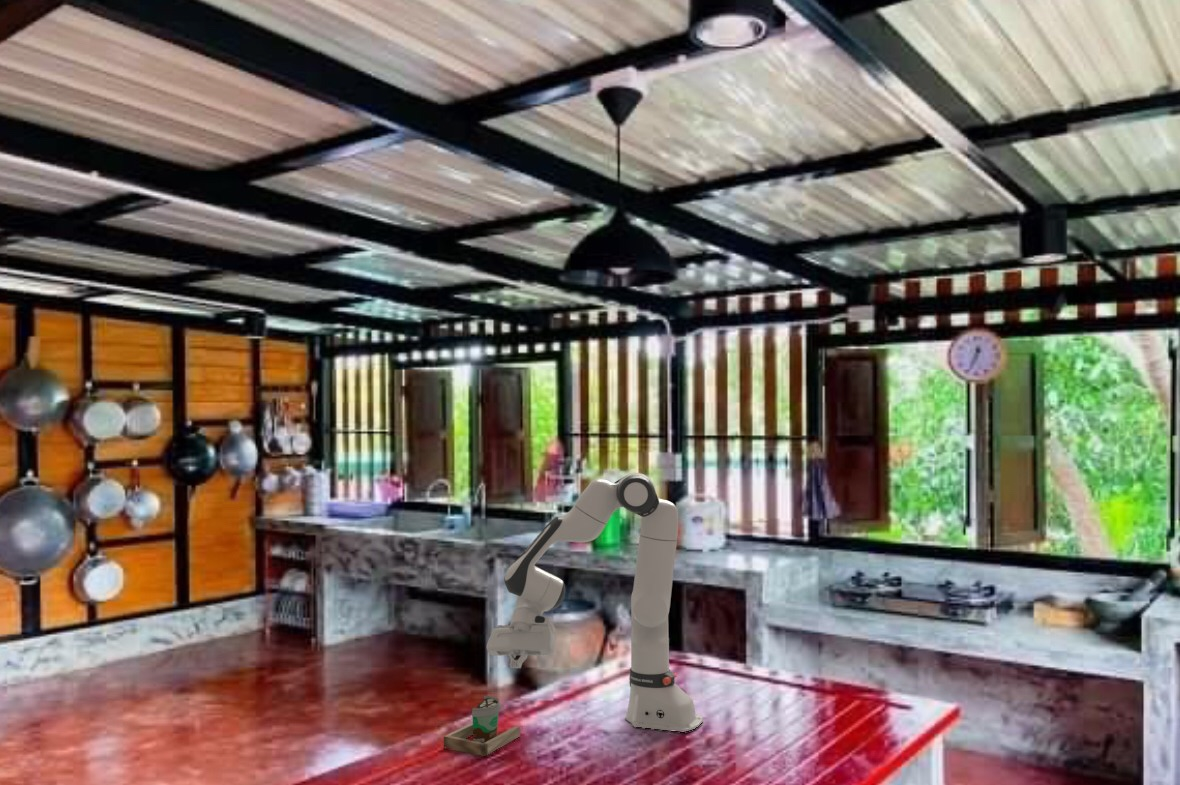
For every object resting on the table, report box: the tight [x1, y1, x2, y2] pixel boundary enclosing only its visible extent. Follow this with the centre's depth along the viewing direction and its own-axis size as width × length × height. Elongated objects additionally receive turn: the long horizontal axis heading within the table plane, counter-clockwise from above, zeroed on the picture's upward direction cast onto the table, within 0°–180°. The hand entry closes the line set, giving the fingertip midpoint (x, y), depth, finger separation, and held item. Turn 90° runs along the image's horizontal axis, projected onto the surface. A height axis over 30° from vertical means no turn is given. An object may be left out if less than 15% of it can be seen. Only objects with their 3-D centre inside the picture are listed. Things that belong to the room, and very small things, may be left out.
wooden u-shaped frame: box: [443, 721, 521, 757], centre depth 245 cm, size 13×16×3 cm
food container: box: [471, 695, 502, 743], centre depth 248 cm, size 12×6×10 cm, turn 170°
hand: (515, 667), depth 258 cm, fingers closed
